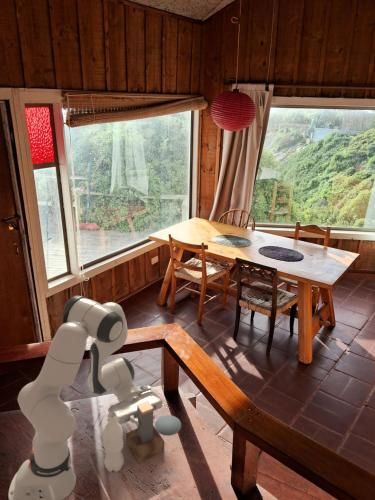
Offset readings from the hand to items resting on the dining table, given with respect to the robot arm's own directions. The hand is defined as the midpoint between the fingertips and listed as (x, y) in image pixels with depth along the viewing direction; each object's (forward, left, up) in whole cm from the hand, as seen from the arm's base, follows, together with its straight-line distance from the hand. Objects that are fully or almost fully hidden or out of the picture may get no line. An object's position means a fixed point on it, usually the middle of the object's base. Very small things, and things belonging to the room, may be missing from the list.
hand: (146, 421), depth 154 cm
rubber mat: (+8, +12, -15) cm, 21 cm away
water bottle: (-12, -7, -15) cm, 20 cm away
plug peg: (-1, +1, -10) cm, 10 cm away
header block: (-1, +1, -15) cm, 15 cm away
